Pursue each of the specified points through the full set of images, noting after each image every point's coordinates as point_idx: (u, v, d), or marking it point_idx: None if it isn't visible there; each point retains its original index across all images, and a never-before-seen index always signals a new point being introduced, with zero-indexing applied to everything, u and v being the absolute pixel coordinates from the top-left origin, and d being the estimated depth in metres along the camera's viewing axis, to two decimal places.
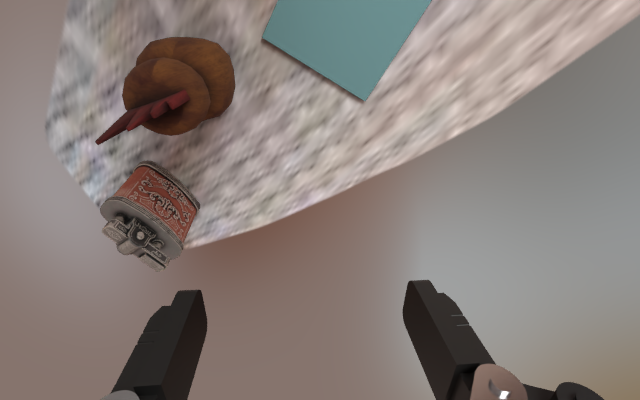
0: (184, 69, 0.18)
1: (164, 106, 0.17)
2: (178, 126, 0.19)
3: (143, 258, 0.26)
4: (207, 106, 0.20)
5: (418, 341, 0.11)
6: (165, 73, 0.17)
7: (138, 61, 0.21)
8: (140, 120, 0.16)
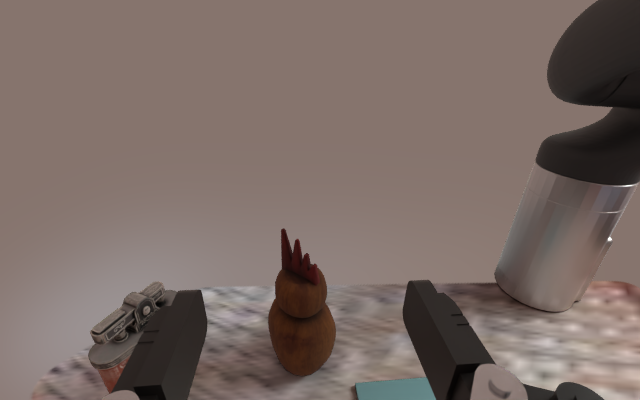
0: (326, 287, 0.27)
1: (309, 265, 0.26)
2: (292, 285, 0.25)
3: (118, 312, 0.24)
4: (311, 304, 0.25)
5: (418, 341, 0.11)
6: (321, 273, 0.27)
7: None
8: (299, 250, 0.25)
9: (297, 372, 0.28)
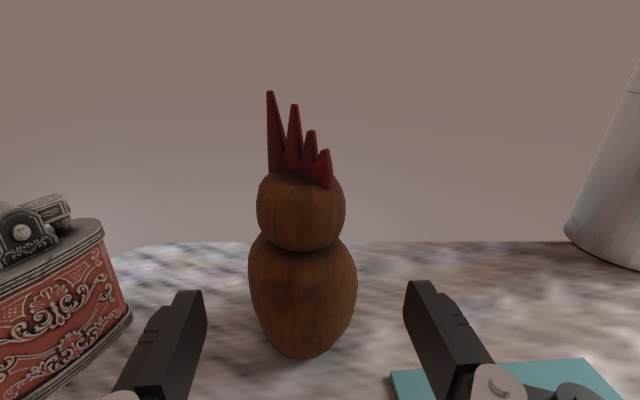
0: None
1: (316, 154, 0.14)
2: (284, 187, 0.14)
3: None
4: (320, 221, 0.14)
5: (418, 341, 0.11)
6: (336, 179, 0.16)
7: None
8: (299, 125, 0.14)
9: (294, 352, 0.17)
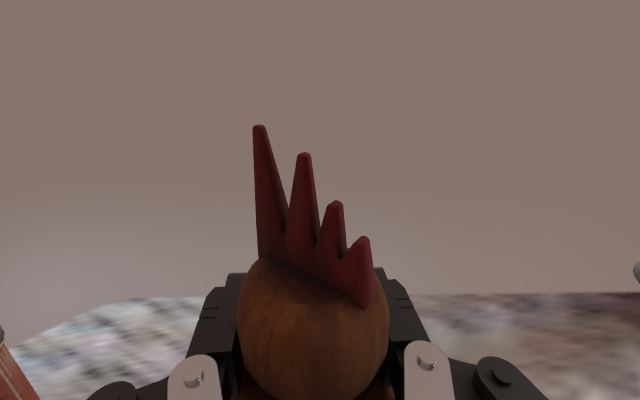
0: None
1: (343, 243, 0.08)
2: (285, 308, 0.08)
3: None
4: (352, 374, 0.07)
5: None
6: None
7: None
8: (312, 191, 0.08)
9: None
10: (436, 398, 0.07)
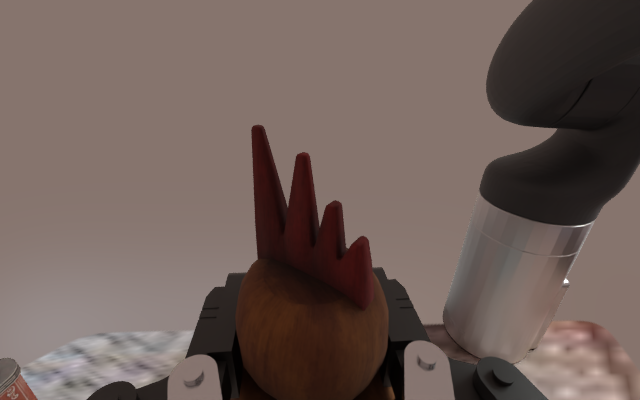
0: (387, 312, 0.09)
1: (342, 244, 0.08)
2: (284, 308, 0.07)
3: None
4: (351, 375, 0.07)
5: None
6: (372, 271, 0.09)
7: None
8: (311, 191, 0.08)
9: None
10: (436, 398, 0.07)
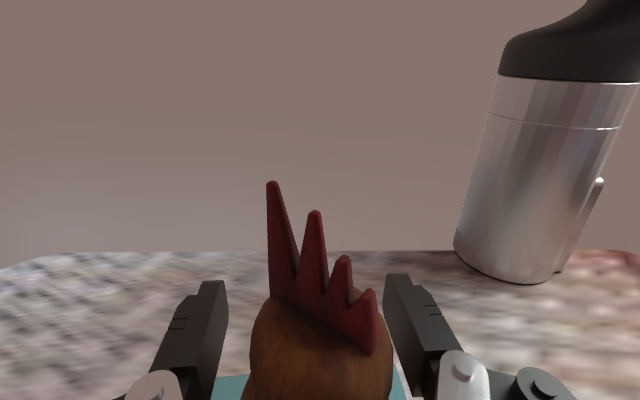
0: (391, 351, 0.10)
1: (350, 293, 0.08)
2: (296, 354, 0.08)
3: None
4: None
5: (395, 331, 0.11)
6: (378, 312, 0.10)
7: None
8: (321, 245, 0.08)
9: None
10: None
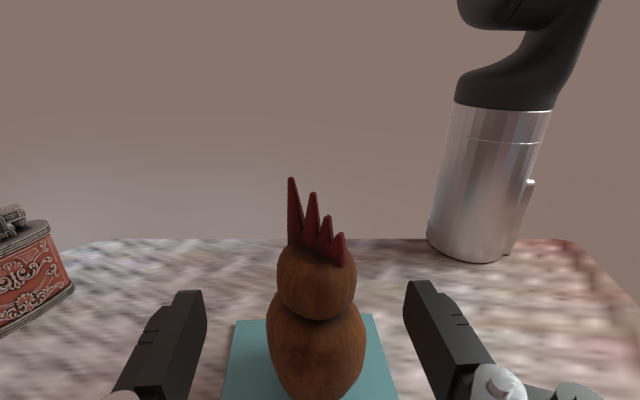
0: (356, 273, 0.17)
1: (331, 235, 0.16)
2: (303, 266, 0.16)
3: None
4: (335, 297, 0.15)
5: (418, 341, 0.11)
6: (348, 251, 0.17)
7: None
8: (316, 210, 0.16)
9: None
10: None
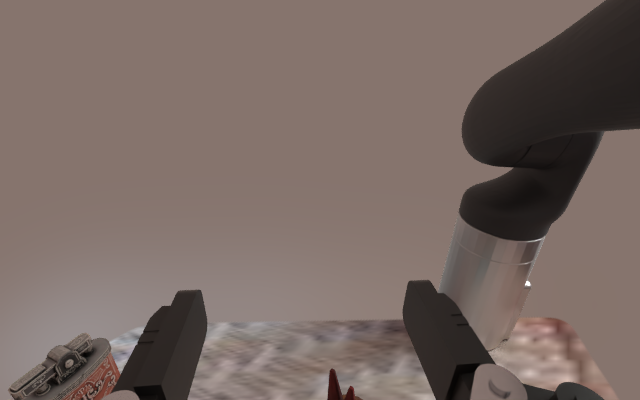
0: None
1: None
2: None
3: (39, 367, 0.26)
4: None
5: (418, 341, 0.11)
6: None
7: None
8: (353, 398, 0.20)
9: None
10: None
